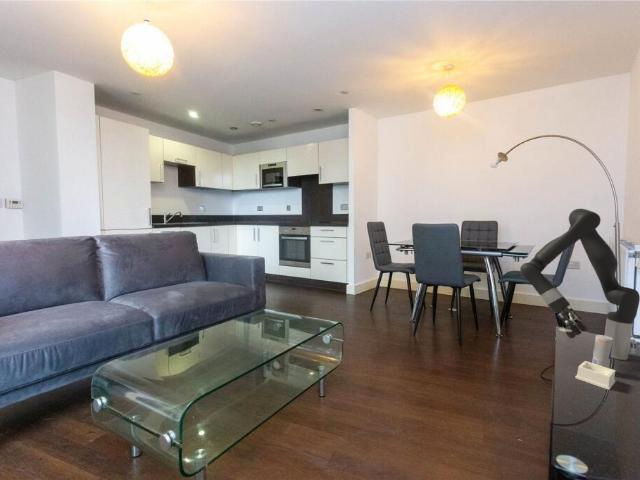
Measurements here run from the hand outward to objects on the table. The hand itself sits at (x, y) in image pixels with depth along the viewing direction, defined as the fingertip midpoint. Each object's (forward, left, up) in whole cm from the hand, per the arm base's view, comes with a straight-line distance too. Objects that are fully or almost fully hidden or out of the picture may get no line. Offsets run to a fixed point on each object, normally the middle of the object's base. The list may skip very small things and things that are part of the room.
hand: (582, 332), depth 145 cm
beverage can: (0, +7, -15) cm, 16 cm away
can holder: (+12, +8, -14) cm, 21 cm away
